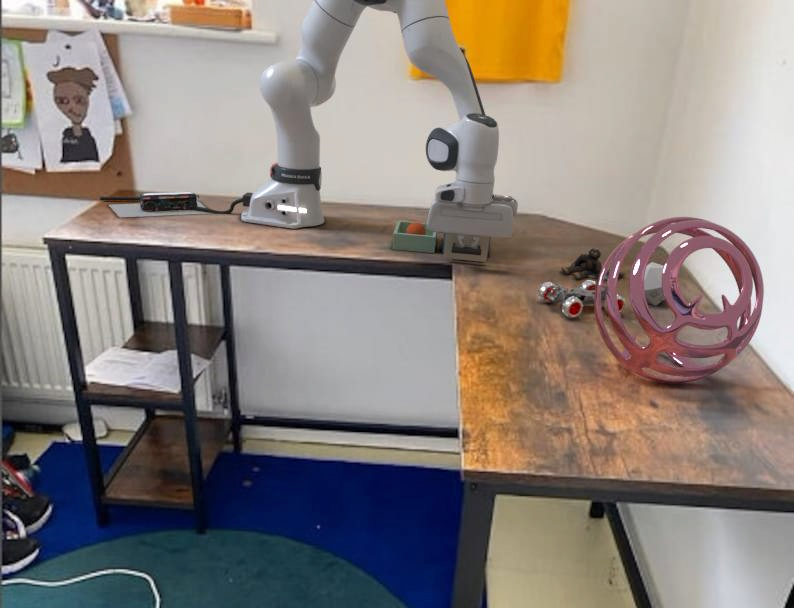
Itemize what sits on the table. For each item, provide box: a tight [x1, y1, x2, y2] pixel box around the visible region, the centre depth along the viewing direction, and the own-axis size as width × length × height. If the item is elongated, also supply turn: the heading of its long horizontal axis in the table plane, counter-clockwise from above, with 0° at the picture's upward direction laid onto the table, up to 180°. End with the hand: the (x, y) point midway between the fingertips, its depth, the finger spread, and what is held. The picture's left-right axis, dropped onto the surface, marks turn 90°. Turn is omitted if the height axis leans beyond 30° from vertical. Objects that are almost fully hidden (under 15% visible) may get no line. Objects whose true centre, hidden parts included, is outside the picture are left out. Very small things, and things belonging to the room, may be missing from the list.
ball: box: [406, 221, 426, 235], centre depth 207 cm, size 5×5×5 cm
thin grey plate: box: [108, 191, 210, 219], centre depth 220 cm, size 14×25×4 cm, turn 118°
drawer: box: [443, 233, 490, 263], centre depth 197 cm, size 18×10×6 cm, turn 175°
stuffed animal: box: [560, 247, 627, 280], centre depth 196 cm, size 12×10×12 cm
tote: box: [392, 220, 438, 254], centre depth 208 cm, size 11×14×4 cm
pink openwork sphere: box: [593, 216, 765, 385], centre depth 140 cm, size 28×28×27 cm
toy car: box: [537, 279, 626, 319], centre depth 172 cm, size 15×12×5 cm
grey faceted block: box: [644, 261, 666, 307], centre depth 179 cm, size 8×9×10 cm
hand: (466, 253), depth 192 cm, fingers closed, pressing on drawer
